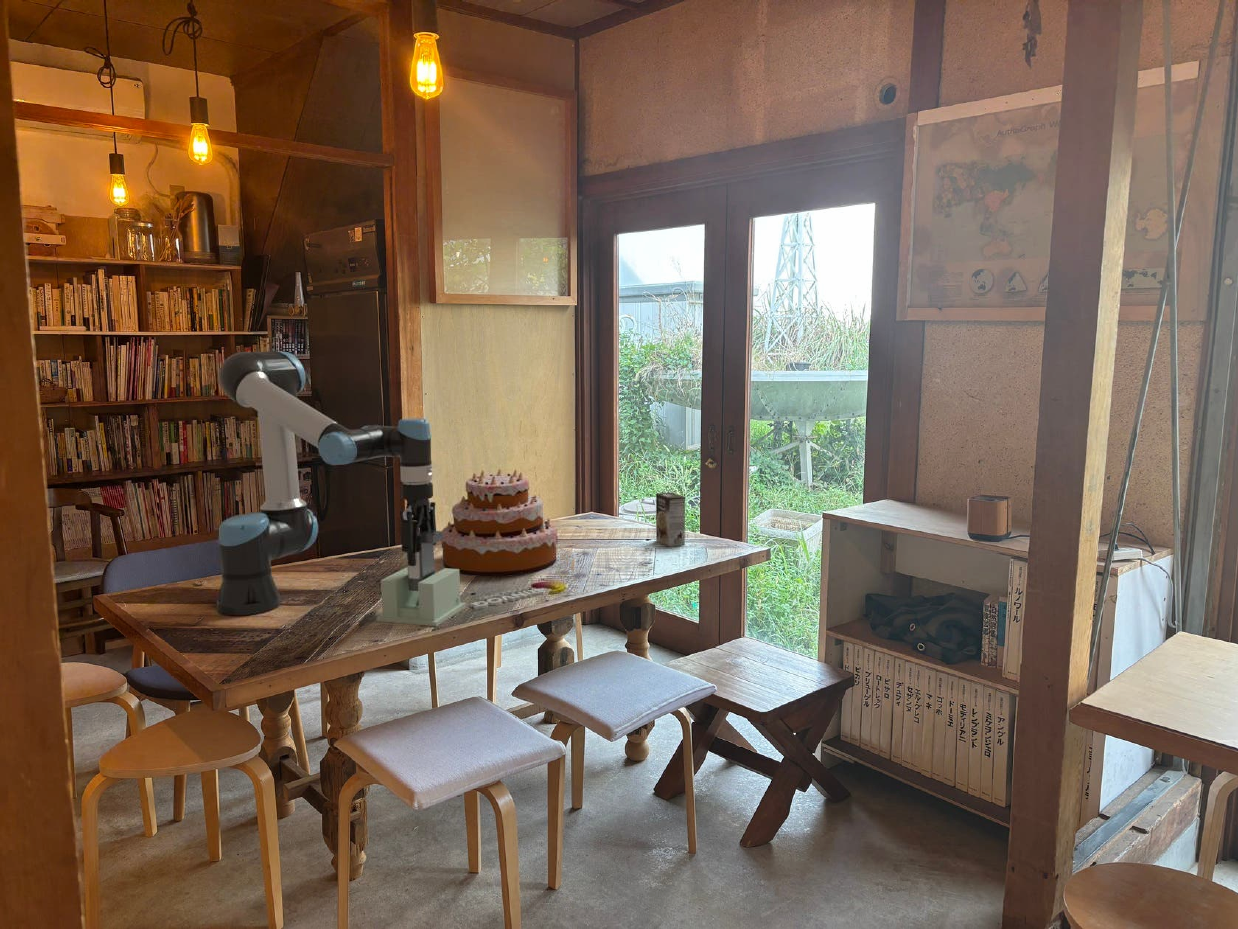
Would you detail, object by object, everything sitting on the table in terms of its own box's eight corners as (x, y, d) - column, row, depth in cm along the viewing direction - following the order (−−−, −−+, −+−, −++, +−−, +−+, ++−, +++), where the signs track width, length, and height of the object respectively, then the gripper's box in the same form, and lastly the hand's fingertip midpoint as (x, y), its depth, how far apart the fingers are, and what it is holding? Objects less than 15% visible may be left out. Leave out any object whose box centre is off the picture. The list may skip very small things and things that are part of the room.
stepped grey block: (408, 590, 220) (406, 534, 218) (420, 584, 226) (418, 529, 224) (434, 592, 218) (432, 536, 216) (445, 585, 224) (443, 530, 222)
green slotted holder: (376, 621, 218) (374, 581, 217) (409, 602, 233) (407, 564, 232) (436, 626, 214) (434, 585, 212) (465, 606, 229) (464, 568, 228)
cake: (572, 570, 264) (571, 476, 260) (453, 582, 252) (450, 484, 248) (539, 544, 296) (537, 461, 292) (432, 554, 284) (429, 467, 280)
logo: (551, 579, 251) (572, 586, 243) (551, 583, 251) (572, 590, 244) (458, 599, 232) (478, 608, 225) (458, 604, 233) (478, 613, 225)
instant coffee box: (655, 541, 299) (655, 493, 297) (672, 539, 302) (672, 491, 300) (668, 546, 291) (668, 497, 289) (685, 544, 294) (685, 496, 291)
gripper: (411, 489, 209) (416, 585, 212) (448, 476, 227) (452, 565, 230) (382, 488, 211) (387, 583, 214) (421, 475, 229) (425, 564, 232)
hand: (421, 574), depth 222 cm, fingers closed on stepped grey block, 6 cm apart
